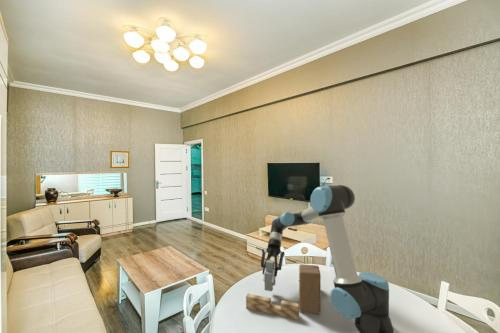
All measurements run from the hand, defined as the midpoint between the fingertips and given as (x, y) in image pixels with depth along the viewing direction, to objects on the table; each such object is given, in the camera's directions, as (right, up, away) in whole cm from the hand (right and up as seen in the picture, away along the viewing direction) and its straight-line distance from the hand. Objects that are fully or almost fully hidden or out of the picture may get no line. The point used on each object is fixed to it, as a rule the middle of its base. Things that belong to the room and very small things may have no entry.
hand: (268, 281), depth 122 cm
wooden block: (+20, -10, -7) cm, 24 cm away
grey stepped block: (+1, -5, +4) cm, 6 cm away
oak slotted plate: (+1, -10, -10) cm, 14 cm away
